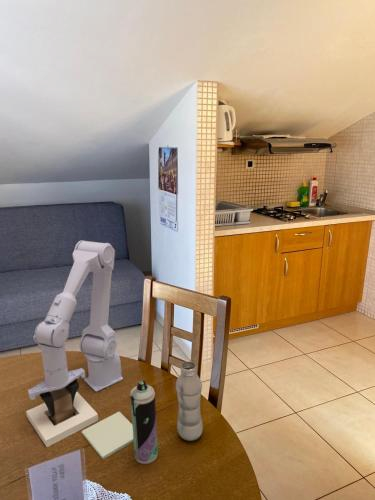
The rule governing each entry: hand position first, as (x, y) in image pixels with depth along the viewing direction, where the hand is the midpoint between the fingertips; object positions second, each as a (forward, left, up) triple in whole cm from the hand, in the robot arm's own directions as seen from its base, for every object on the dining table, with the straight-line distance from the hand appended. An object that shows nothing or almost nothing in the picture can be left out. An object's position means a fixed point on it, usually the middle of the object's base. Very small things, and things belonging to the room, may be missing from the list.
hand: (61, 409), depth 104 cm
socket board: (0, 0, -3) cm, 3 cm away
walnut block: (0, 0, -3) cm, 3 cm away
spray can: (-10, +25, -3) cm, 27 cm away
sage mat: (-7, +14, -3) cm, 16 cm away
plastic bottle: (-22, +27, -3) cm, 35 cm away
